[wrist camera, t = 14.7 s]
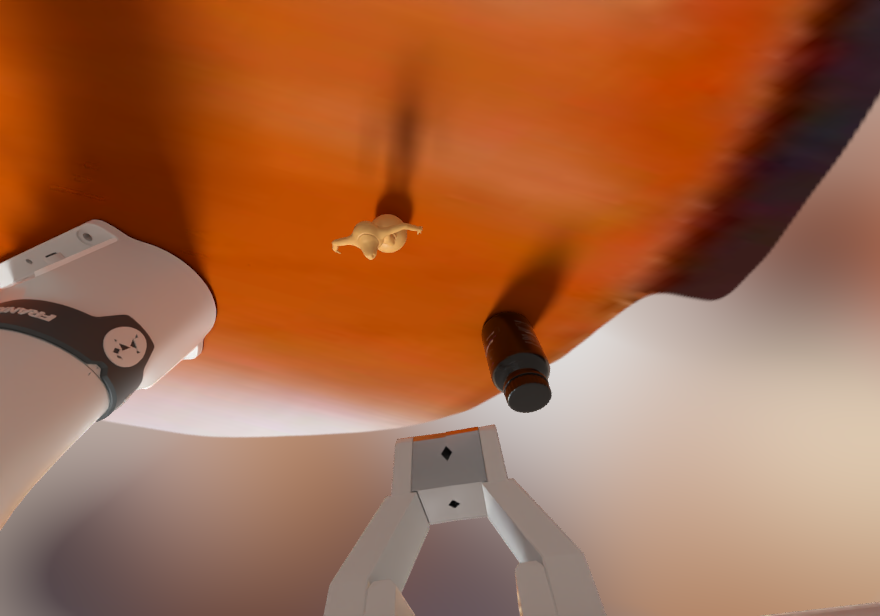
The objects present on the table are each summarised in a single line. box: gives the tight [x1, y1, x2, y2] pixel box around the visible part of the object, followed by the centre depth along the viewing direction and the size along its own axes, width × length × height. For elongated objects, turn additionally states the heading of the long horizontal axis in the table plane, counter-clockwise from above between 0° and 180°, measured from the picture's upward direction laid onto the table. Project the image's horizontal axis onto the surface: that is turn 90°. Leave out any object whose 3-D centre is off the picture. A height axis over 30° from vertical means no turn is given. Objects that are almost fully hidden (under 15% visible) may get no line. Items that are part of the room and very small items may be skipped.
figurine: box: [332, 214, 423, 260], centre depth 30 cm, size 8×6×12 cm
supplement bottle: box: [482, 312, 551, 413], centre depth 39 cm, size 7×7×12 cm
